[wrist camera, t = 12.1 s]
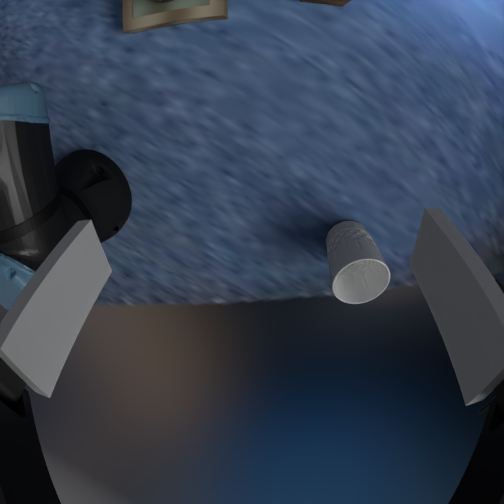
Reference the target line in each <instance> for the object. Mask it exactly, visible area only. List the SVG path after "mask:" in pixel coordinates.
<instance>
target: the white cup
mask: <svg viewBox="0 0 504 504" xmlns="http://www.w3.org/2000/svg"><path fill="white" fill-rule="evenodd" d="M326 246H327V256H328V263H329V271H330V277H331V283H332V289H333V293H334V295H335V296H336V297H337V298H338V299H339V300H341V301H343V302H345V303H350V304H359V303H364V302H368V301H370V300H372V299H374V298H376V297H377V296H379V295H380V294H381V293H382V292H383V291H384V290H385V289H386V287H387V286H388V283H389V281H390V271H389V269H388V267H387V265H386V263H385V261H384V259H383V257H382V255H381V254H380V252H379V250H378V248H377V246H376V245H375V243H374V241H373V240H372V238H371V236H370V235H369V234H368V232H367V230H366V229H365V228H364V227H363V225H362V224H361V223H358V222H355V221H342V222H340V223H338V224H336V225H334V226H333V227H332V228H331V230H330V231H329V232H328V234H327V238H326Z"/></svg>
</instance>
